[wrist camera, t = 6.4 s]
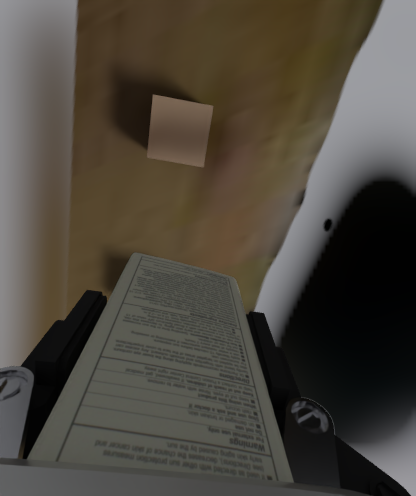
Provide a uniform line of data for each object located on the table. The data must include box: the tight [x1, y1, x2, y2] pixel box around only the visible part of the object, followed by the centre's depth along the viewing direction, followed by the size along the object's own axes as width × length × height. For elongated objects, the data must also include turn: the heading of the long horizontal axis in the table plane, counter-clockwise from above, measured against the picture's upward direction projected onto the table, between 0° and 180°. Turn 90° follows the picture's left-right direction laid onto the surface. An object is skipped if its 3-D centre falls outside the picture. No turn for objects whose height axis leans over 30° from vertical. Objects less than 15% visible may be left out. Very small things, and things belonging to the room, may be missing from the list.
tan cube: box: [147, 94, 213, 167], centre depth 28 cm, size 5×5×5 cm
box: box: [27, 253, 294, 483], centre depth 9 cm, size 5×4×11 cm
